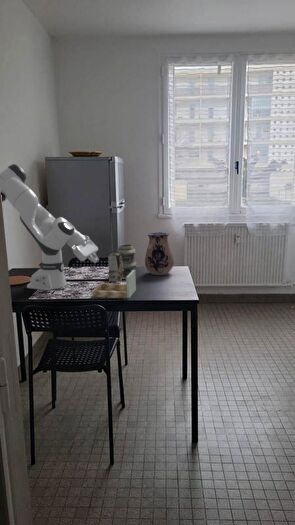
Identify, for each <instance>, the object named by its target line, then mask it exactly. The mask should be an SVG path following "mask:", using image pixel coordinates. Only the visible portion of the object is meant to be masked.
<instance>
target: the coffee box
mask: <svg viewBox="0 0 295 525" xmlns="http://www.w3.org/2000/svg"><path fill="white" fill-rule="evenodd" d="M107 258H108V259H107V260H108V277H109V278H108V281H109V282H122V281H123V280H124V275H123V260H122V253H117V252H111V253H110V254H109V255H108V256H107ZM122 279H123V280H122Z"/></svg>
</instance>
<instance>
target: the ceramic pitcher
mask: <svg viewBox="0 0 295 525" xmlns="http://www.w3.org/2000/svg"><path fill="white" fill-rule="evenodd" d="M169 235H170V234H169V233H166V232H162V231H160V232H151V233H148V234H147V236H148V238H149V240H148V245H147V250H146V252H145V258H144V265H145V267H146V268H145V269H146V270H147V272H149V273H150V274H152V275H154V276H164V275H167V274H169V273H170V272H171V270H172V269H173V266H174V256H173V254H172V250H171V246H170V245H169V241H168V238H169Z"/></svg>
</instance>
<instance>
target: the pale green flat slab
mask: <svg viewBox="0 0 295 525" xmlns="http://www.w3.org/2000/svg"><path fill="white" fill-rule="evenodd" d="M125 281H126V282H125V284H126V286H127V298H126V299H130V298H131V297H132V295H133V294H134V293H135V292H136V290H137V284H136V282H137V281H136V269H132V272H131V273H130V274H129V275H126V277H125Z"/></svg>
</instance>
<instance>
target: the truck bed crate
mask: <svg viewBox="0 0 295 525" xmlns="http://www.w3.org/2000/svg"><path fill="white" fill-rule="evenodd" d="M91 293H92V294H91V295H92V297H93V298H111V299H112V298H113V299H114V298H115V299H128V298H127V286H126V283H105V282H103V283H102V282H100V284H98V285H97V286H96V287H94V289H92V290H91Z"/></svg>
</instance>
